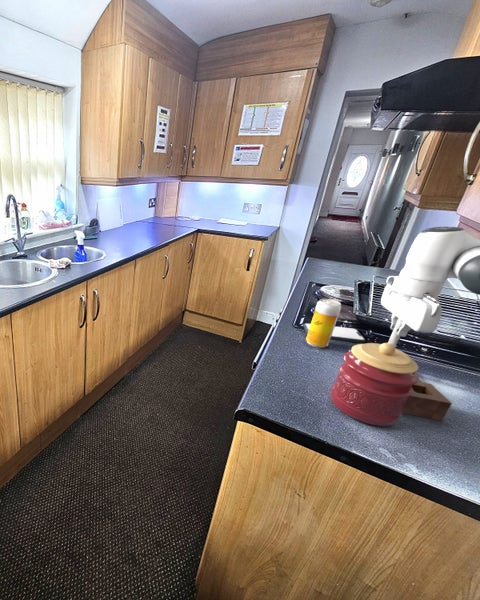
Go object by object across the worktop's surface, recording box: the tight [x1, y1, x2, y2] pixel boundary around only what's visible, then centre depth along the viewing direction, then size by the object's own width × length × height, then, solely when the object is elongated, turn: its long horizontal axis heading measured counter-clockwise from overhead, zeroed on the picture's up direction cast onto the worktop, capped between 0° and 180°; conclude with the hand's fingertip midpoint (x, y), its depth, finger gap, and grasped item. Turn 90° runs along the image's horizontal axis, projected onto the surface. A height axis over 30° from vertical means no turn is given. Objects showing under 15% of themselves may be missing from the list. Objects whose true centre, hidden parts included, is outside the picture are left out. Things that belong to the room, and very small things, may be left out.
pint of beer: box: [305, 298, 342, 349], centre depth 103 cm, size 6×6×15 cm
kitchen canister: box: [329, 342, 420, 427], centre depth 75 cm, size 13×13×18 cm
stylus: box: [387, 318, 403, 348], centre depth 93 cm, size 2×2×14 cm
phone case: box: [302, 322, 366, 344], centre depth 112 cm, size 9×2×16 cm
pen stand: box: [402, 382, 453, 422], centre depth 78 cm, size 8×8×5 cm
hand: (397, 332), depth 93 cm, fingers closed on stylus, 2 cm apart
